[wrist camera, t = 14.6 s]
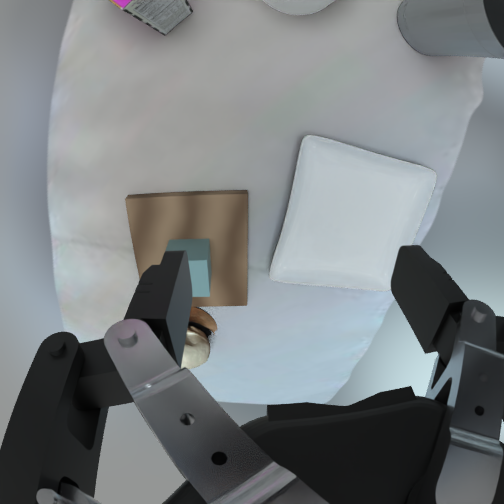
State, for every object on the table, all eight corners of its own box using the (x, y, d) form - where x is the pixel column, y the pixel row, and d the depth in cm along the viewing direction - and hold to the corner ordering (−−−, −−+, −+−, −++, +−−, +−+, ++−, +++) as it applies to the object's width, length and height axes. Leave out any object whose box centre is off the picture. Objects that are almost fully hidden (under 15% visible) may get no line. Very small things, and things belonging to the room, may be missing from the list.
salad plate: (384, 281, 50) (392, 293, 47) (264, 269, 47) (267, 283, 44) (428, 165, 40) (441, 172, 37) (296, 128, 37) (302, 132, 34)
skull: (134, 340, 51) (140, 351, 42) (160, 290, 55) (171, 291, 46) (191, 368, 55) (208, 383, 46) (214, 321, 59) (236, 327, 50)
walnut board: (247, 190, 40) (247, 194, 39) (246, 299, 49) (247, 305, 48) (128, 195, 39) (125, 199, 38) (148, 300, 48) (146, 306, 47)
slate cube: (209, 238, 42) (206, 260, 37) (211, 272, 44) (209, 296, 40) (169, 239, 41) (162, 261, 37) (173, 273, 44) (168, 297, 39)
